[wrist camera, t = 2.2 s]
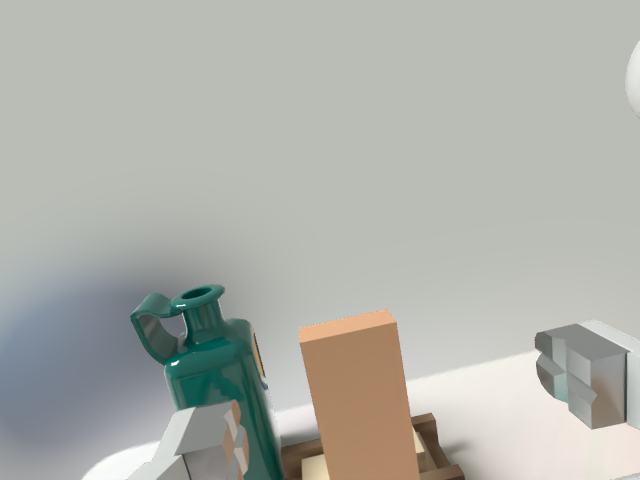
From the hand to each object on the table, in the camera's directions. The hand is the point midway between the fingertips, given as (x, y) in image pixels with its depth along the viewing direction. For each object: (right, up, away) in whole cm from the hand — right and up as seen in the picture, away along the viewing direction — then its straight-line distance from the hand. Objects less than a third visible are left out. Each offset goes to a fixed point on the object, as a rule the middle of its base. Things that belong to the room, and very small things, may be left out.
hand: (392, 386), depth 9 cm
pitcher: (-11, -22, +29) cm, 39 cm away
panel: (+3, -21, +17) cm, 27 cm away
